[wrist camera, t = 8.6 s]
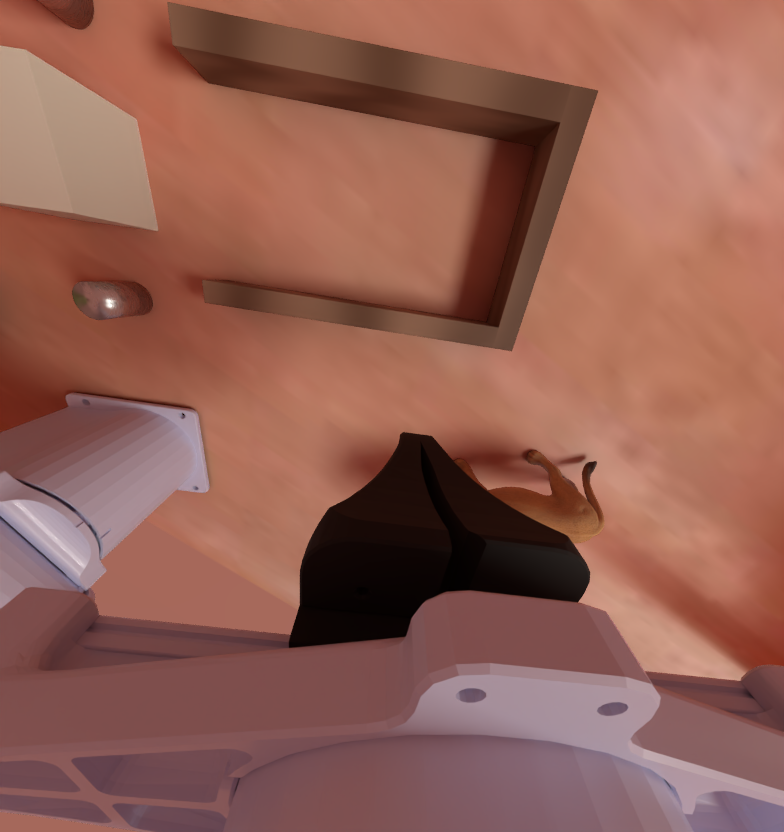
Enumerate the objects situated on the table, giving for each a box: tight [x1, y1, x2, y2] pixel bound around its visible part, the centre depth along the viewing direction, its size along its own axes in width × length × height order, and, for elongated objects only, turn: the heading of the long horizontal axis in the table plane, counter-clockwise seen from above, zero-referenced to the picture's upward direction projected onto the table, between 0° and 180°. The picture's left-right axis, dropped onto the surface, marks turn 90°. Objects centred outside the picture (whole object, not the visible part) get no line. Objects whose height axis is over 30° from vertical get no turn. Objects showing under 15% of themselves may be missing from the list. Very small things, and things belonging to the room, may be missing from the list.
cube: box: [0, 46, 158, 231], centre depth 14 cm, size 5×5×5 cm
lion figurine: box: [454, 451, 604, 543], centre depth 20 cm, size 15×5×9 cm, turn 104°
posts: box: [37, 0, 153, 320], centre depth 14 cm, size 2×15×3 cm, turn 171°
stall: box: [167, 2, 598, 351], centre depth 15 cm, size 18×11×2 cm, turn 81°
